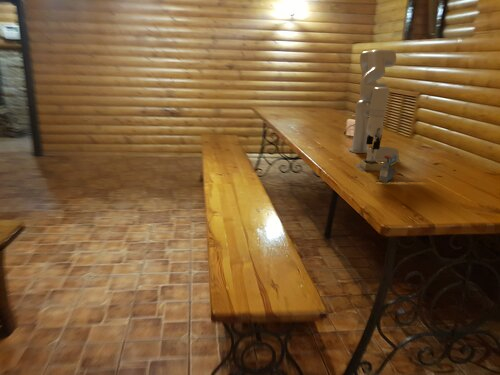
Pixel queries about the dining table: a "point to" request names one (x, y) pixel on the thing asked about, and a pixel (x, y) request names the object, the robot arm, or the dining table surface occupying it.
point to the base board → (364, 170)
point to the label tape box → (387, 170)
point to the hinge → (386, 151)
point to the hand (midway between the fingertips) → (372, 146)
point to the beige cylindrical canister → (371, 155)
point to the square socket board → (373, 166)
